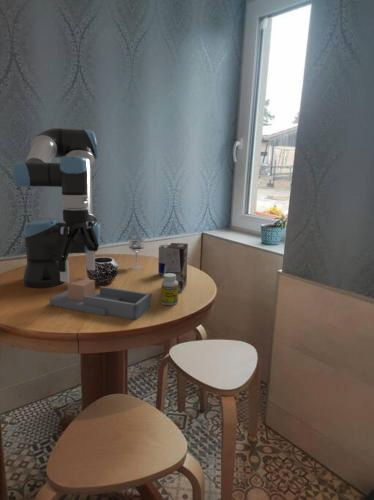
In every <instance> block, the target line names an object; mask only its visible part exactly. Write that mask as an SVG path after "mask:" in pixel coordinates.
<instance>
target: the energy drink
mask: <svg viewBox="0 0 374 500" xmlns="http://www.w3.org/2000/svg"><path fill="white" fill-rule="evenodd" d="M169 245H170V244H160V245H159V246H158V268H157V269H158V270H157V271H158V275H159V276H160V277H164V274H166V247H168V246H169Z"/></svg>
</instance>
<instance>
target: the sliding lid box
mask: <svg viewBox="0 0 374 500" xmlns="http://www.w3.org/2000/svg"><path fill="white" fill-rule="evenodd" d="M48 300H49V306H51V305H54V306H53V307H57V306H59V307H58V308H62V307H63V308H64V309H67V310H73V311H79V312H85V313H90V314H95V315H101V316H106V315H109V316H114V317H120V318H125V319H131V320H134V321H135V320H138V319H139V318H141V316H143V315H144V314H145V313H146V312H147V311H149V310H150V309H151V308H152V294H151V293H149V292H148V293H147V292H140V291H135V290H129V289H122V288H117V287H110V286H102V285H100V286H99V291H98V290H95V295H94V296H87V295H85V296H83V300H84V301H81V300H75V299H69V298H68V289H67V290H65V291H63V292H61V293H59V294H57V295H55V296H53V297H51V298H50V299H48Z"/></svg>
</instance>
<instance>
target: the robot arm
mask: <svg viewBox="0 0 374 500" xmlns="http://www.w3.org/2000/svg"><path fill="white" fill-rule="evenodd" d="M30 149H31V150H30V152H29V154H28V156H27V158H26V160H25V161H16V162H14V163H13V165H12V177H13V179H12V180H13V181H14V184H15V185H16V186H18V187H27V188H29V187H30V188H35V187H36V188H37V187H42V188H43V187H46V188H47V187H52V188H56V187H59V188H61V205H62V206H61V207H62V208H63V210H62V221H63V222H60V220H59V219H58V218H55V217H54V218H50V217H49V218H43V219H42V218H41V219H37V220H33V221H29V222H27V223H26V224H25V225H24V242H25V253H26V266H25V270H24V274H23V277H22V279H23V282H22V283H23V285H24V284H25V285H24V286H26V287H30V288H50V287H55V286H58V285H61V284H64V283H69V282H70V270H69V269H70V268H69V260H67V259H68V257H69V255H70V254H71V255H72V254H85V257H86V270H89V271H95V270H96V252H98V250H99V247H100V242H101V241H100V239H101V229H102V228H101V227H102V226H101V225H102V223H101V222H100V221H98V219H97V216H95V215H94V214H93V185H92V183H93V182H92V165H93V164H94V163H95V162H96V161H95V160H97V159H98V158H99V152H98V151H99V150H98V143H97V139H96V133H95V132H94V131H93V130H91V129H84V128H82V129H74V128H60V127H59V128H58V127H57V128H54V127H53V128H49V129H46V130H43V131H41V132H39V133H38V134H36V135H35V136H34V137H33V139H32V141H31V143H30ZM53 158H57V159H58V158H59V162H52V160H53Z"/></svg>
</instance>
